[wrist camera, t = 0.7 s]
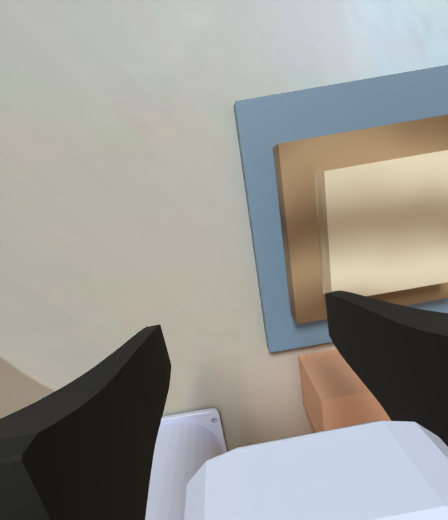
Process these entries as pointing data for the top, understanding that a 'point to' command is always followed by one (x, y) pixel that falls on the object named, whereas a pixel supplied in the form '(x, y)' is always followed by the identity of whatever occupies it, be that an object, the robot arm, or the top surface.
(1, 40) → the top surface
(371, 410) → the terracotta block
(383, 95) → the plinth board
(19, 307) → the top surface
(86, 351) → the top surface
